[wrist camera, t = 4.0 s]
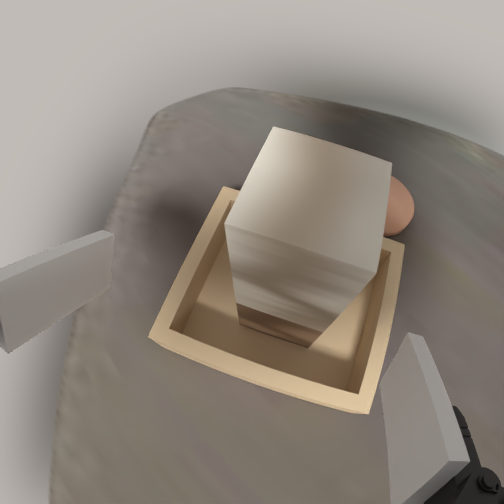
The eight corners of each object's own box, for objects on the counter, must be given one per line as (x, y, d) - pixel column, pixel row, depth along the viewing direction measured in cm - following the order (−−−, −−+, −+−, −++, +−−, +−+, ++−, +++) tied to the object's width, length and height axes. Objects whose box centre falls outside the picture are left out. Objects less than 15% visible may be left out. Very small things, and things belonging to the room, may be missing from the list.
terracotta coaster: (386, 173, 29) (390, 165, 27) (421, 225, 26) (426, 218, 25) (332, 186, 28) (335, 178, 26) (366, 245, 25) (371, 238, 24)
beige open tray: (387, 265, 24) (404, 244, 21) (351, 412, 19) (368, 413, 16) (226, 212, 26) (223, 186, 23) (163, 346, 21) (148, 336, 18)
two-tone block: (327, 284, 23) (392, 162, 11) (308, 348, 21) (376, 273, 9) (263, 263, 24) (273, 126, 12) (239, 324, 22) (224, 223, 10)
